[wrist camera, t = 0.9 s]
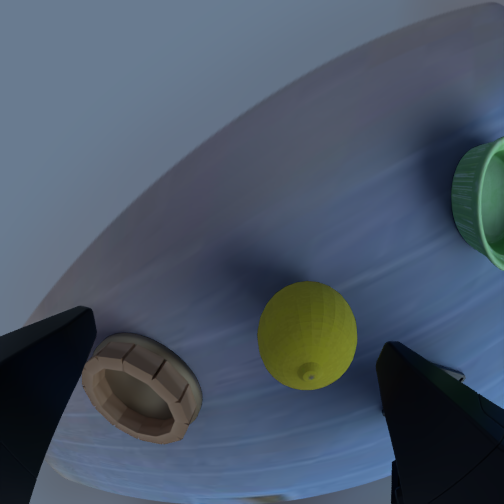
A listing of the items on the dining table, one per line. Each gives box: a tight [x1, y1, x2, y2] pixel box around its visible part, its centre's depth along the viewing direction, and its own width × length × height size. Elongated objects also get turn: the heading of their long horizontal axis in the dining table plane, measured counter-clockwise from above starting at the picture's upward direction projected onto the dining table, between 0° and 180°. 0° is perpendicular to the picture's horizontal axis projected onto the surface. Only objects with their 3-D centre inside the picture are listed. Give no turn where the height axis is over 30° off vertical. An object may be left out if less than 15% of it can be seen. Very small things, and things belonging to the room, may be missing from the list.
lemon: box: [257, 281, 357, 390], centre depth 15 cm, size 6×6×8 cm
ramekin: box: [451, 137, 504, 271], centre depth 13 cm, size 9×9×4 cm
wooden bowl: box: [82, 333, 202, 444], centre depth 21 cm, size 11×11×3 cm
